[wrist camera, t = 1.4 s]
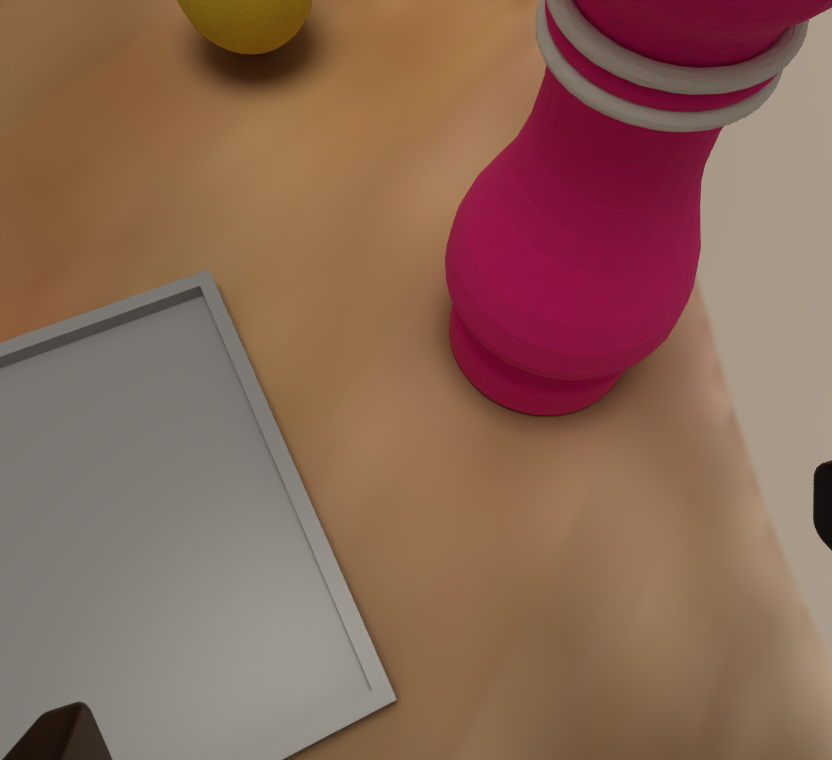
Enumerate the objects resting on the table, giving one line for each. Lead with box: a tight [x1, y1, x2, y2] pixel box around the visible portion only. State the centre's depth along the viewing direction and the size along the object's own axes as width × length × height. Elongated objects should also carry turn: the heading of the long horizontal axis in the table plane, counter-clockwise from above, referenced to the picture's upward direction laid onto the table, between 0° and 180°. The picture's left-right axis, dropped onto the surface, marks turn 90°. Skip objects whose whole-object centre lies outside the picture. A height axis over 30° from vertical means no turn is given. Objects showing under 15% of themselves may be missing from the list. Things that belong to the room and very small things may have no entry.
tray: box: [0, 270, 397, 760], centre depth 21 cm, size 15×15×1 cm
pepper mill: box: [445, 0, 832, 415], centre depth 17 cm, size 7×7×20 cm
